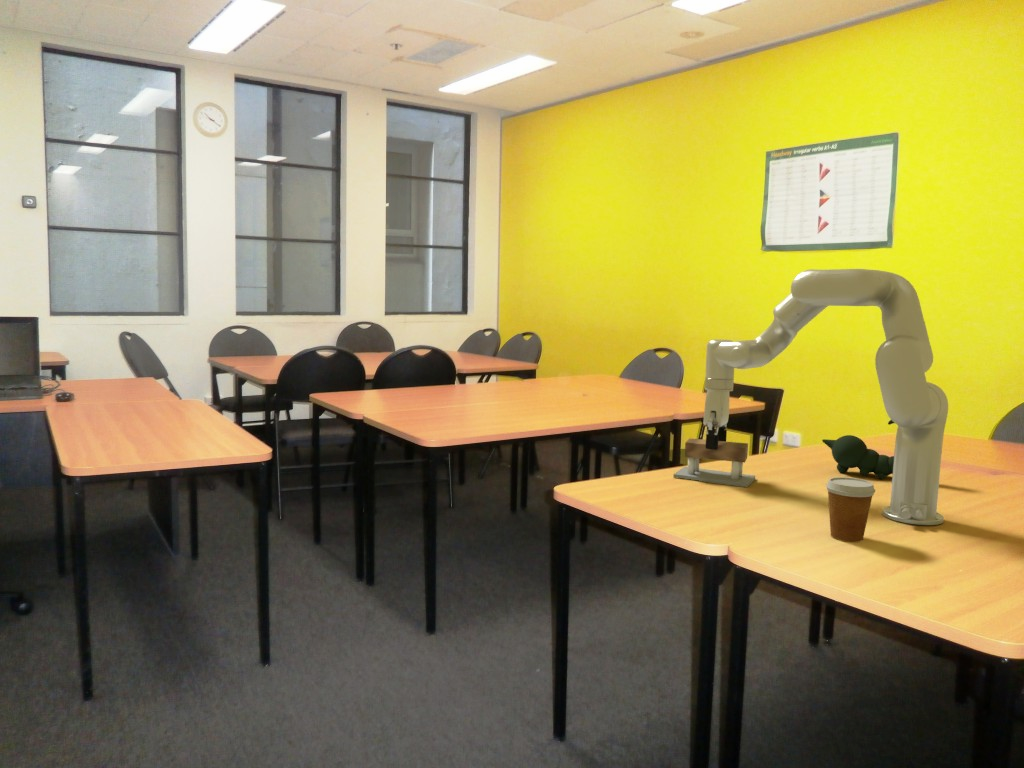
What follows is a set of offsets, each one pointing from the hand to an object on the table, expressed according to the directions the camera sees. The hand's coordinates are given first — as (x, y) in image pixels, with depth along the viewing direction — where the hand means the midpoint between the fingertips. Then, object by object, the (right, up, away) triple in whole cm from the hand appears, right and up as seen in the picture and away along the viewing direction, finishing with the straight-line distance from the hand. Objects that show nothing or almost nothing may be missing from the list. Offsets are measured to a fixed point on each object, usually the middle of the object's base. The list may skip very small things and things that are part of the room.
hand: (715, 446), depth 211 cm
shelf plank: (0, -3, 0) cm, 3 cm away
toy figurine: (+46, -9, +8) cm, 47 cm away
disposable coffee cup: (+14, -15, -49) cm, 54 cm away
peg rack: (0, -9, +1) cm, 9 cm away
